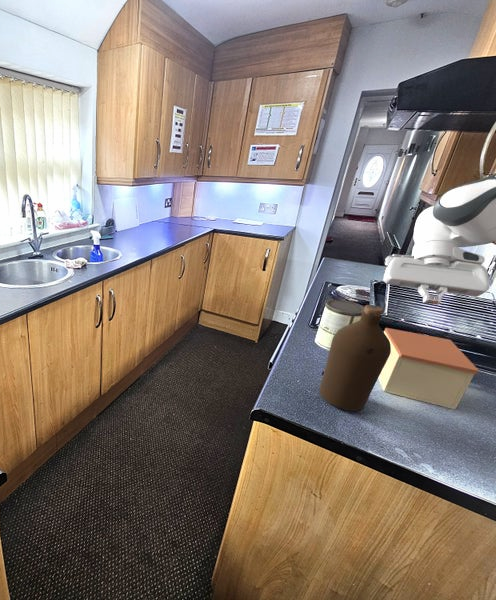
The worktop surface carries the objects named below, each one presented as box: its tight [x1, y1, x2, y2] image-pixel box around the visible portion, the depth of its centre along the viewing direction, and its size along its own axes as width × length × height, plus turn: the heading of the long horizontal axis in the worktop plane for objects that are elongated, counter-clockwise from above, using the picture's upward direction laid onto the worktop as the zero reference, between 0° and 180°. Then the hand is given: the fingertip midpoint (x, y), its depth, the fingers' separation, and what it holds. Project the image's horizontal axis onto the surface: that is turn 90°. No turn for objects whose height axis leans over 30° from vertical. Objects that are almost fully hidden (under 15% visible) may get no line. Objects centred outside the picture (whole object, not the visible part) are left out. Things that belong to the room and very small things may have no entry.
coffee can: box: [314, 298, 365, 351], centre depth 103 cm, size 10×10×14 cm
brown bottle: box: [318, 304, 391, 412], centre depth 76 cm, size 11×11×25 cm
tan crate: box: [377, 330, 476, 410], centre depth 86 cm, size 16×14×11 cm
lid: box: [384, 327, 480, 375], centre depth 83 cm, size 16×14×1 cm
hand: (431, 302), depth 85 cm, fingers closed
